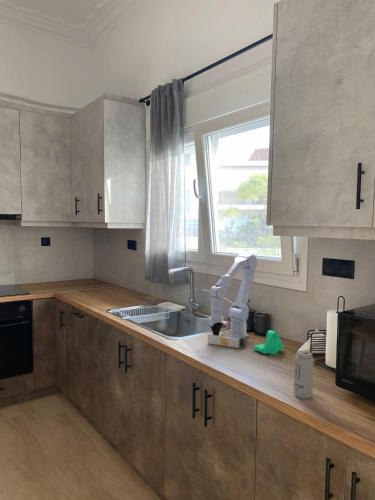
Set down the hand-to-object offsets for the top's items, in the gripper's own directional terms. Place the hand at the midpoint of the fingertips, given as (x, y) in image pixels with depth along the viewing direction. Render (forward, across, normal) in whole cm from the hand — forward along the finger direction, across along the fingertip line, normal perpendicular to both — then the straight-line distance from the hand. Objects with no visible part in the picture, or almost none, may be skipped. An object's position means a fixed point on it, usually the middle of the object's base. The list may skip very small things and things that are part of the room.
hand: (215, 337), depth 192 cm
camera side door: (+2, +4, +6) cm, 7 cm away
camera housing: (+2, 0, +8) cm, 9 cm away
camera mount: (+3, +1, +27) cm, 27 cm away
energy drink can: (+3, +42, +50) cm, 66 cm away
